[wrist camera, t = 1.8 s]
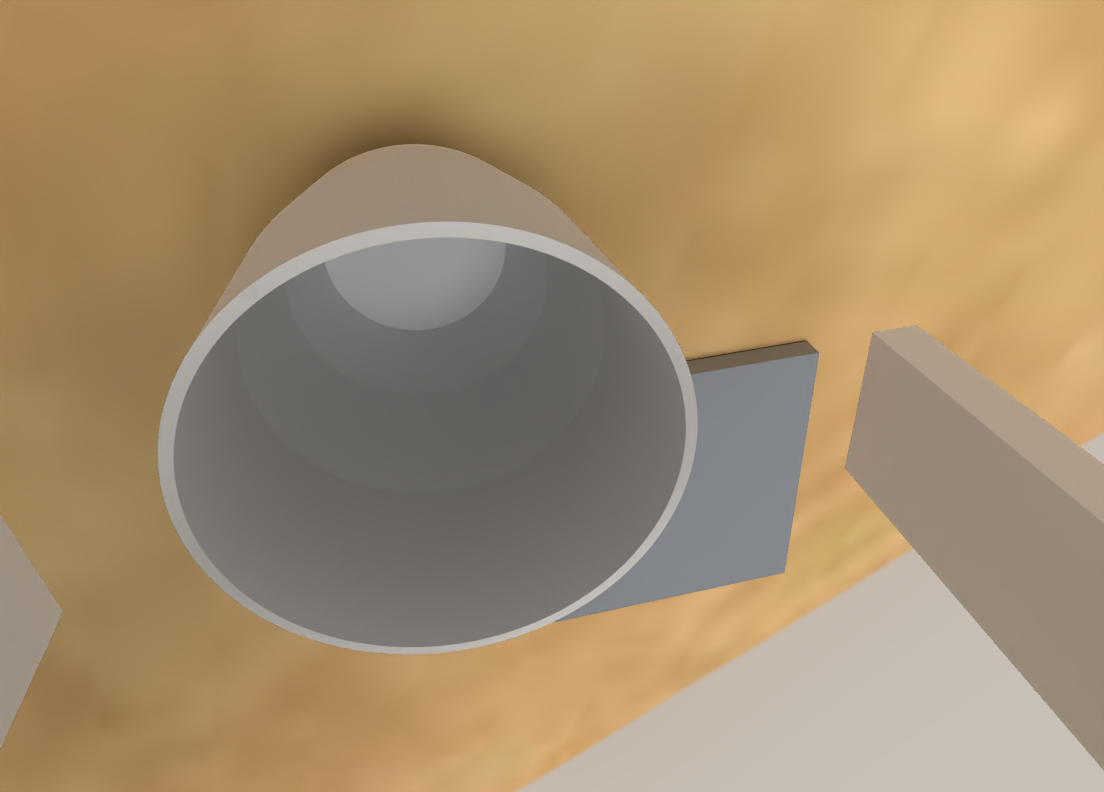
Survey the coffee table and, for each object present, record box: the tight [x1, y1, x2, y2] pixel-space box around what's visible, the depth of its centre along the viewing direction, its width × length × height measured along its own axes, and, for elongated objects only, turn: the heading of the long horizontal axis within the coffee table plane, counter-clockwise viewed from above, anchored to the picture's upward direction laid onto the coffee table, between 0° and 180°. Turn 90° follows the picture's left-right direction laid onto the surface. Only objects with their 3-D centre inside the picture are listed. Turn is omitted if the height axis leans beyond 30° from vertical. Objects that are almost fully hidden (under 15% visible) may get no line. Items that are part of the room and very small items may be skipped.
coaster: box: [552, 341, 819, 623], centre depth 26 cm, size 10×10×1 cm
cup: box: [157, 144, 698, 654], centre depth 15 cm, size 8×8×10 cm
